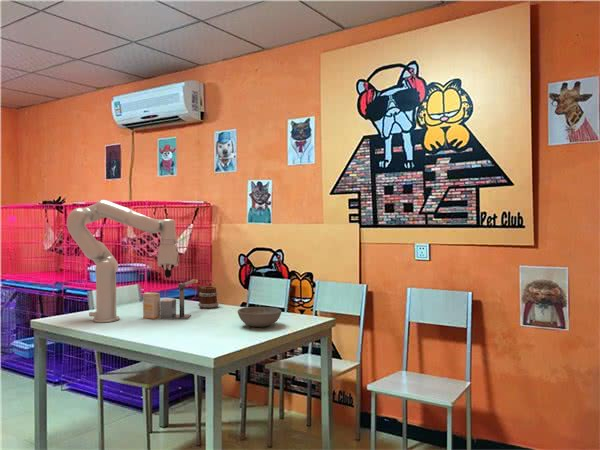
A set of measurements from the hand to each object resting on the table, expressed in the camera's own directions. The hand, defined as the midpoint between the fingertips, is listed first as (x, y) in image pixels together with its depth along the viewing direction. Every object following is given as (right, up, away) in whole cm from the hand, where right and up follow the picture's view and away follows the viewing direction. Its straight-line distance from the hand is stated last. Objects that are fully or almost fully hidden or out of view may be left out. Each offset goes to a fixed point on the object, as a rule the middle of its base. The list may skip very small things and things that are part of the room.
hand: (168, 277), depth 254 cm
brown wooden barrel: (+14, -21, +30) cm, 39 cm away
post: (+7, -21, -1) cm, 22 cm away
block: (0, -21, 0) cm, 21 cm away
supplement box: (-9, -21, -1) cm, 23 cm away
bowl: (+50, -21, -21) cm, 58 cm away
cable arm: (+9, -5, +7) cm, 12 cm away
